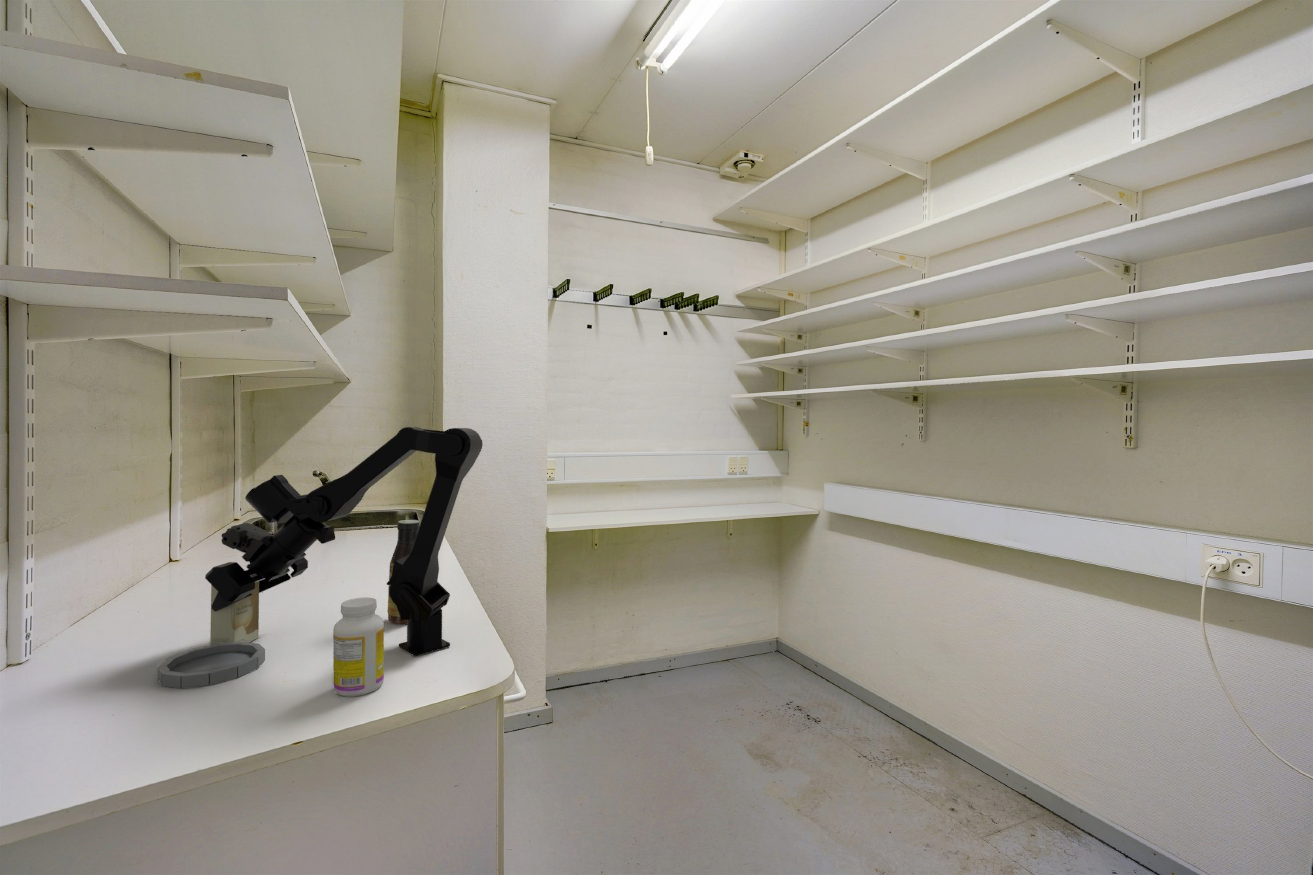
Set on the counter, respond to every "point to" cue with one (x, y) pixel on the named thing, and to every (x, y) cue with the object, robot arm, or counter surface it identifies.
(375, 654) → the supplement bottle
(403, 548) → the sauce bottle
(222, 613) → the skincare box
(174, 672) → the round tray
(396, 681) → the counter surface
